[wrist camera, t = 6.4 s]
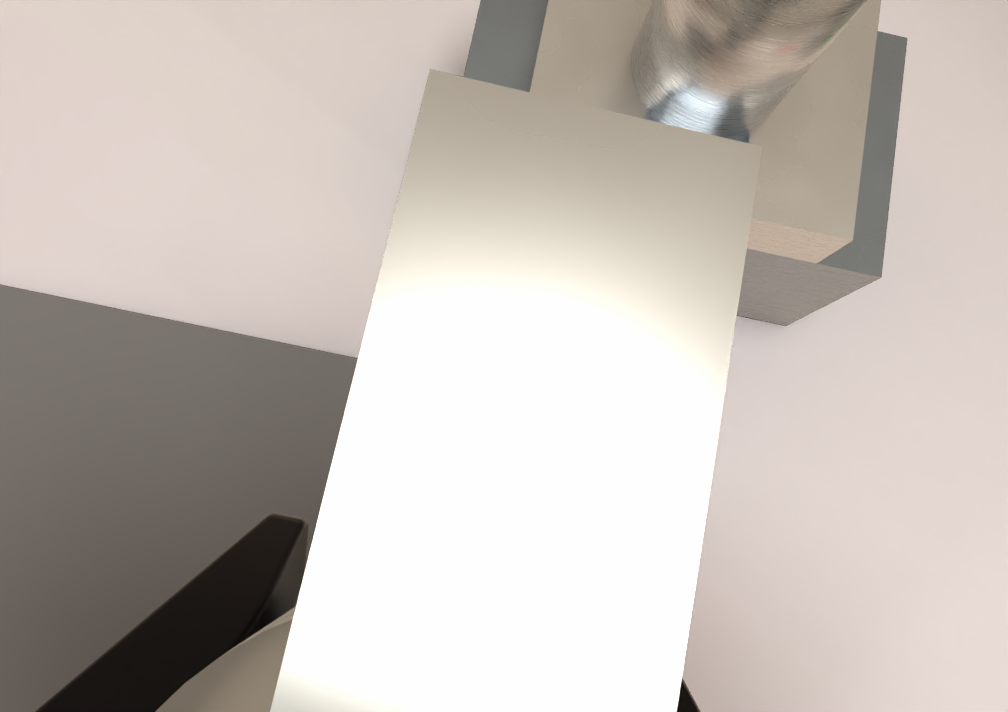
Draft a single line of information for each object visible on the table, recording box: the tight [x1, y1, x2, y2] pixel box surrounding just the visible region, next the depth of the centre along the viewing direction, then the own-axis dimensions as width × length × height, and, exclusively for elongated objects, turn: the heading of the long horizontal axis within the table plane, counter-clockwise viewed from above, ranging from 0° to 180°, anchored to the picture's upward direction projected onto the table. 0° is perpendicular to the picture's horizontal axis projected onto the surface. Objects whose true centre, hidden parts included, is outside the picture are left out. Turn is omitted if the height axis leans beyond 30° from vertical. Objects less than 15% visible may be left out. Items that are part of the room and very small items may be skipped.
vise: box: [464, 0, 907, 326], centre depth 17 cm, size 7×10×14 cm
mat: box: [0, 285, 358, 712], centre depth 20 cm, size 12×12×1 cm
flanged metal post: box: [155, 69, 762, 712], centre depth 9 cm, size 6×5×13 cm
